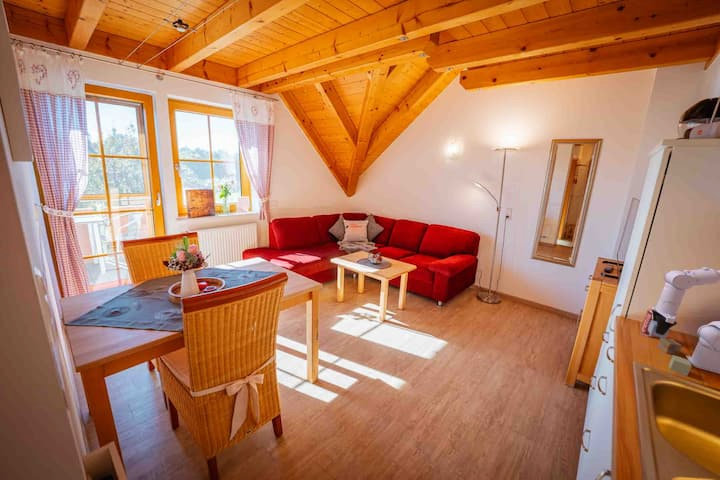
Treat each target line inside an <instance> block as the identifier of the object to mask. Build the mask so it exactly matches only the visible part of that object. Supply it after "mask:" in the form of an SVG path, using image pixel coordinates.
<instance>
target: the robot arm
mask: <svg viewBox="0 0 720 480" xmlns="http://www.w3.org/2000/svg"><path fill="white" fill-rule="evenodd" d="M663 280H664V281H665V283H664V287H663V289H662V292H661V294H660V297H659V299H658V301H657V303H656V305H655V306H651V309H652V314H653V321H657V326H656V333H657V334H660V335H664V334H665V333H666V332H667V331H668V330H669V329H670V330H671V328H673V327H674V326H676V325H677V321H676V318H677V315H678V311H679V309H680V306H681V304H682V301H683V299H684V297H685V294H686V291H687V290H689V289H691V288H693V287H695V286H704V285H714V284H718V282H720V269H719V270H715V269H714V268H709V267H706V266H705V267H704V266H703V267H701V268H700V269H692V270H689V269H684V270H683V271H680V270H677V269H675V270H674V269H673V270H671V271H669V272H667V273H666V274H664V275H663ZM670 330H669V331H670ZM697 335H698V342H697V345H696V346H695V349H694V351H693V354H692V356H691V355H687V354H686V355H685V357H686V359H687V360H689V361H690V363H691V365H693V367H695V368H697V369H701V370H705V371H707V372H712V373H714V374H715V373H716V374H718V375H720V320H719V321H718V320H717V321H716V320H715V321H711V322H710V323H708V324H704V325H701V326H700V327H699V328H698V329H697Z"/></svg>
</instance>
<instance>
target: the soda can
mask: <svg viewBox="0 0 720 480" xmlns="http://www.w3.org/2000/svg"><path fill="white" fill-rule="evenodd" d="M651 320H653V314H652V308H649V309H648V310H647V311H646V313H645V316H644V319H643V321H642V324H641V327H640V329H639V332H640V334H642V335H643V334H644V336H646V337H649V338H654V337H655V336H654V335H650V333H649V331H648V327H649V325H650V322H651Z"/></svg>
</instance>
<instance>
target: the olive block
mask: <svg viewBox="0 0 720 480" xmlns="http://www.w3.org/2000/svg"><path fill="white" fill-rule="evenodd" d="M668 367H669V371H672V372H674V373H677V374H680V375H682V376H685V377H688V375H689V373H690V370H691V369H692V363H691V362H690V361H689V360H688V358H684V357H681V356H677V355H676V354H672V356H671V359H670V361H669V363H668Z"/></svg>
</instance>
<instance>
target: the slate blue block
mask: <svg viewBox="0 0 720 480" xmlns="http://www.w3.org/2000/svg"><path fill="white" fill-rule="evenodd" d="M656 326H657V321H653V320H651V322H650V325H649V327H648V331H649V333H650V335H654V337H659V338H664V339H666V338H667V337H668V334H669V332H670V330H671V328H670V329H669V330H668V331H667V332H666V333H665V334H664V335H660V334H657V333H656Z"/></svg>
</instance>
